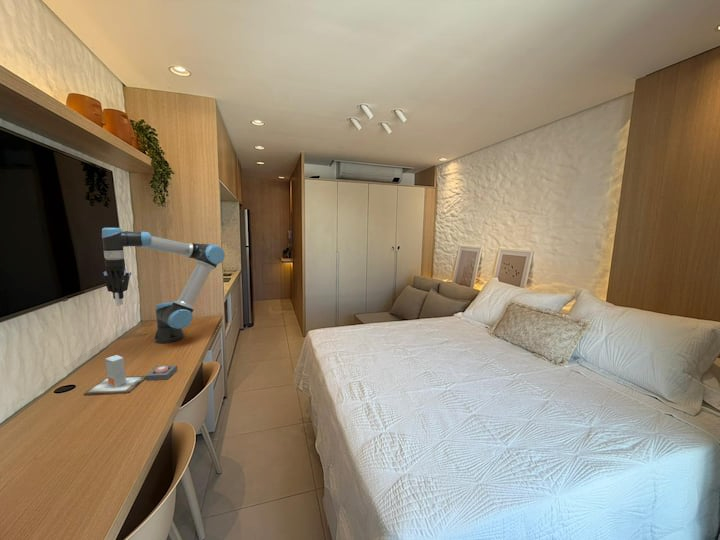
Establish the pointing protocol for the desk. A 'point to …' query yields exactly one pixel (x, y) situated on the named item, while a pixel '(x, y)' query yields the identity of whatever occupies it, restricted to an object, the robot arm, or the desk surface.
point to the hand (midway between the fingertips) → (119, 304)
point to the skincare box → (115, 370)
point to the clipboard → (109, 389)
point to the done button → (161, 369)
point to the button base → (161, 374)
